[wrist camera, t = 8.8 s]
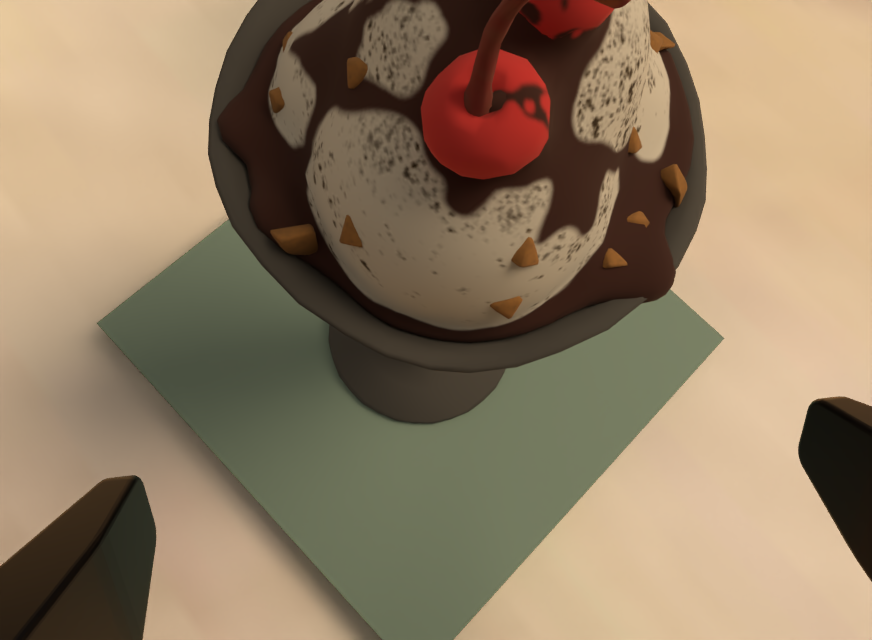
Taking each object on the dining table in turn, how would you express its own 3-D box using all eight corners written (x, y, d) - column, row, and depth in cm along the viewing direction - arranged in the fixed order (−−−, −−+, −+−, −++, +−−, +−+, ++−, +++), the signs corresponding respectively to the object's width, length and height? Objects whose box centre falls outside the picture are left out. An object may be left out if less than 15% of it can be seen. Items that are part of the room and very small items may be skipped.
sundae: (411, 515, 17) (569, 416, 3) (246, 318, 18) (-204, -427, 4) (593, 349, 19) (1248, -218, 5) (432, 178, 20) (562, -692, 6)
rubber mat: (416, 674, 17) (417, 678, 16) (105, 329, 19) (96, 323, 18) (714, 343, 20) (724, 338, 19) (422, 78, 22) (423, 66, 21)
